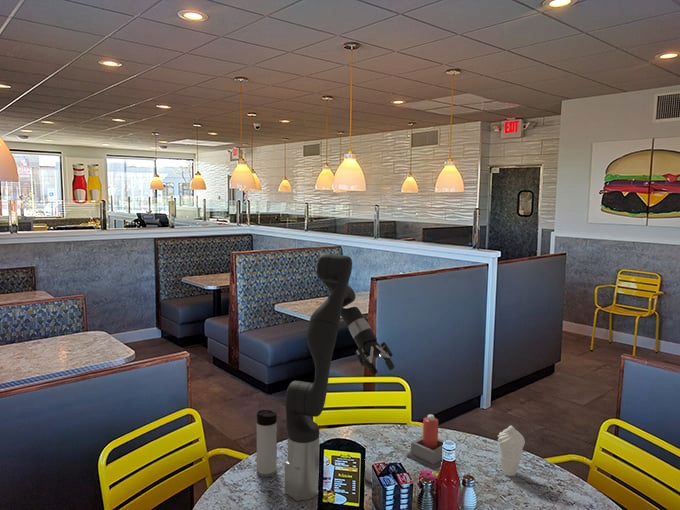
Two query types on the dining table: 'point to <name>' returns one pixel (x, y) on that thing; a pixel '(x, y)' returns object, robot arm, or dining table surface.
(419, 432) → the dining table surface
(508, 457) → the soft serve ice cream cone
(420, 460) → the box
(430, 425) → the squeeze bottle
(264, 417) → the travel mug
